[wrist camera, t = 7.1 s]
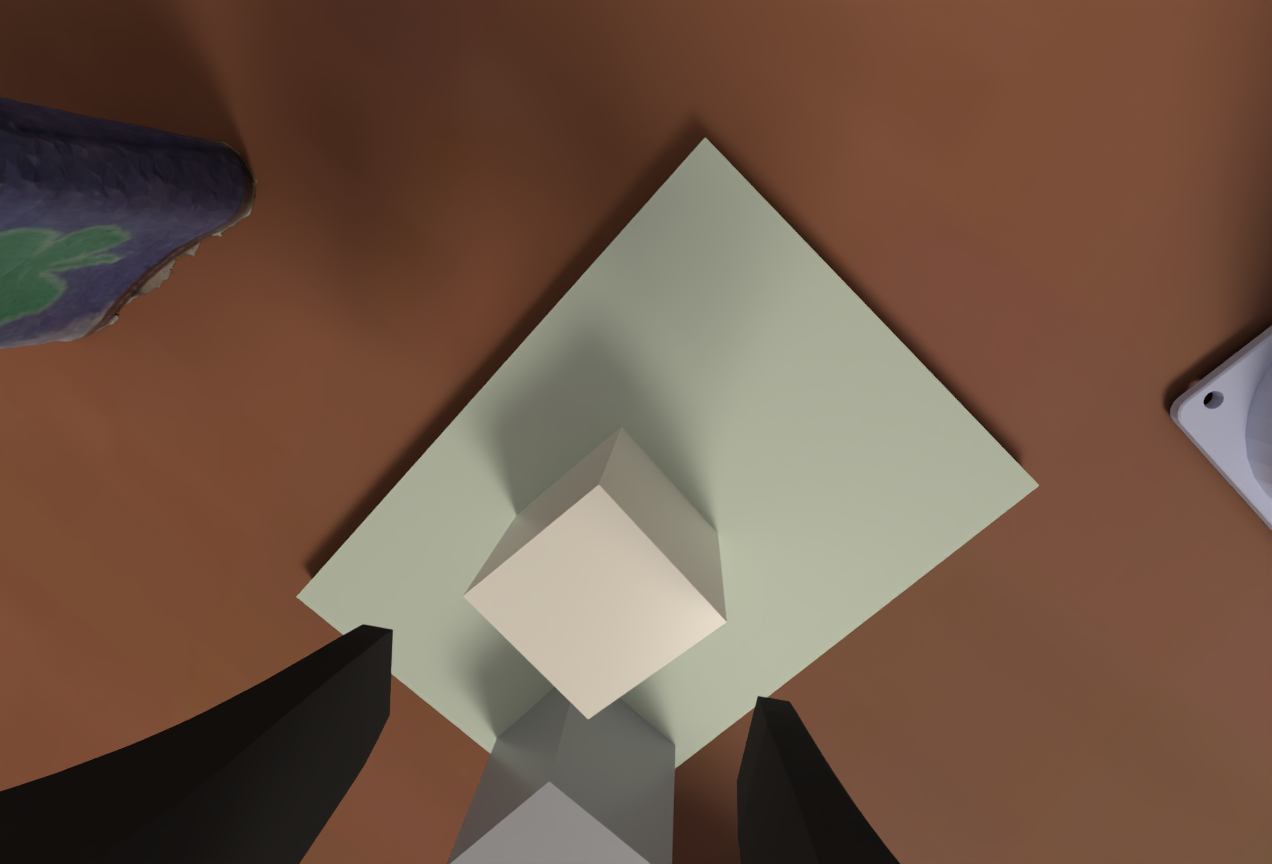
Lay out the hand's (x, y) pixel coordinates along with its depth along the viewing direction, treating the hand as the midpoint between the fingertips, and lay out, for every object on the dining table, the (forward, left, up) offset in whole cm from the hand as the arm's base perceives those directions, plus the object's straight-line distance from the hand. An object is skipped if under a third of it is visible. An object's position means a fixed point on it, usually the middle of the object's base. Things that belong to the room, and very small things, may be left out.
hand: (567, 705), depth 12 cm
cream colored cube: (0, 0, -8) cm, 8 cm away
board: (0, +1, -9) cm, 9 cm away
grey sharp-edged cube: (+7, +5, -8) cm, 12 cm away
